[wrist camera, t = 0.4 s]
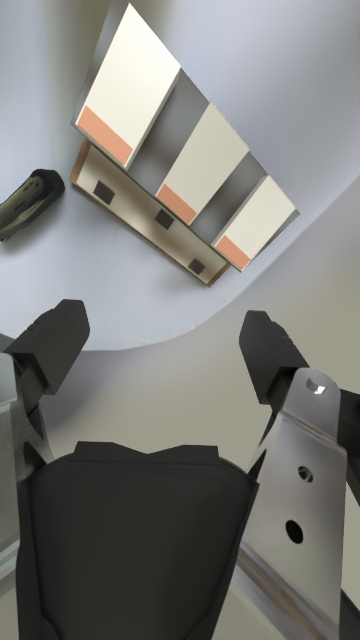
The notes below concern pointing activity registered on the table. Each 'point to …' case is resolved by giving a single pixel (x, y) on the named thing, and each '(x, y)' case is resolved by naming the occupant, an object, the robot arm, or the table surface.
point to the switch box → (163, 174)
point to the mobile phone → (29, 201)
